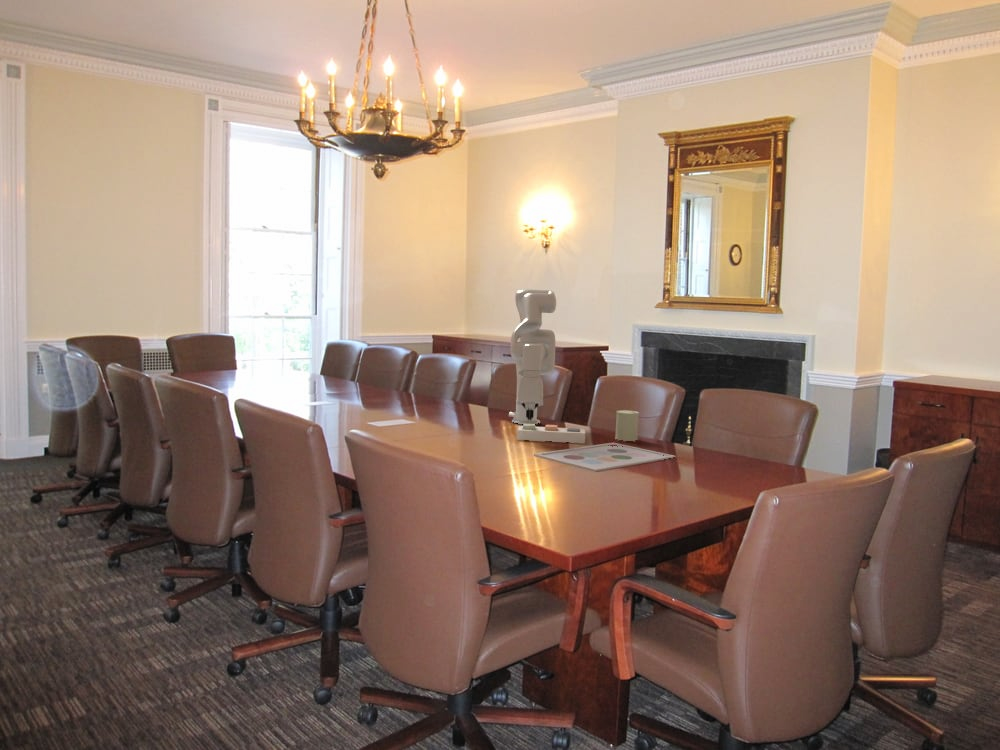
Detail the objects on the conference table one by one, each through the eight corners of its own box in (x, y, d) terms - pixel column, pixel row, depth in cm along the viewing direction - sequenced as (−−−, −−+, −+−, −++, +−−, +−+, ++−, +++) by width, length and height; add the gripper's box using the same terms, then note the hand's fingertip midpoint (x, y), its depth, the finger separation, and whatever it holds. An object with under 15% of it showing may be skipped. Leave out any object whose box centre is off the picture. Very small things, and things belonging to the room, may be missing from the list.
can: (631, 442, 338) (633, 413, 337) (611, 439, 343) (612, 410, 342) (641, 439, 346) (642, 410, 345) (621, 436, 351) (622, 408, 350)
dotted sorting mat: (533, 453, 305) (613, 442, 333) (533, 457, 305) (613, 445, 333) (595, 469, 282) (675, 455, 310) (595, 473, 282) (675, 459, 310)
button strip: (517, 440, 335) (517, 430, 334) (518, 435, 345) (518, 425, 345) (584, 443, 333) (585, 433, 332) (584, 438, 344) (584, 428, 343)
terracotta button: (545, 435, 337) (545, 426, 336) (545, 433, 341) (545, 424, 341) (557, 435, 336) (557, 427, 336) (557, 433, 341) (557, 425, 341)
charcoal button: (567, 438, 336) (567, 430, 336) (567, 436, 341) (567, 428, 341) (579, 439, 336) (579, 430, 335) (579, 437, 341) (579, 428, 340)
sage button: (522, 434, 337) (523, 425, 337) (523, 432, 342) (523, 423, 342) (534, 434, 337) (535, 426, 337) (535, 432, 342) (535, 424, 341)
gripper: (512, 374, 334) (510, 420, 335) (549, 376, 333) (547, 421, 334) (513, 372, 341) (511, 417, 343) (550, 374, 340) (548, 419, 342)
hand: (529, 419), depth 339 cm, fingers closed
